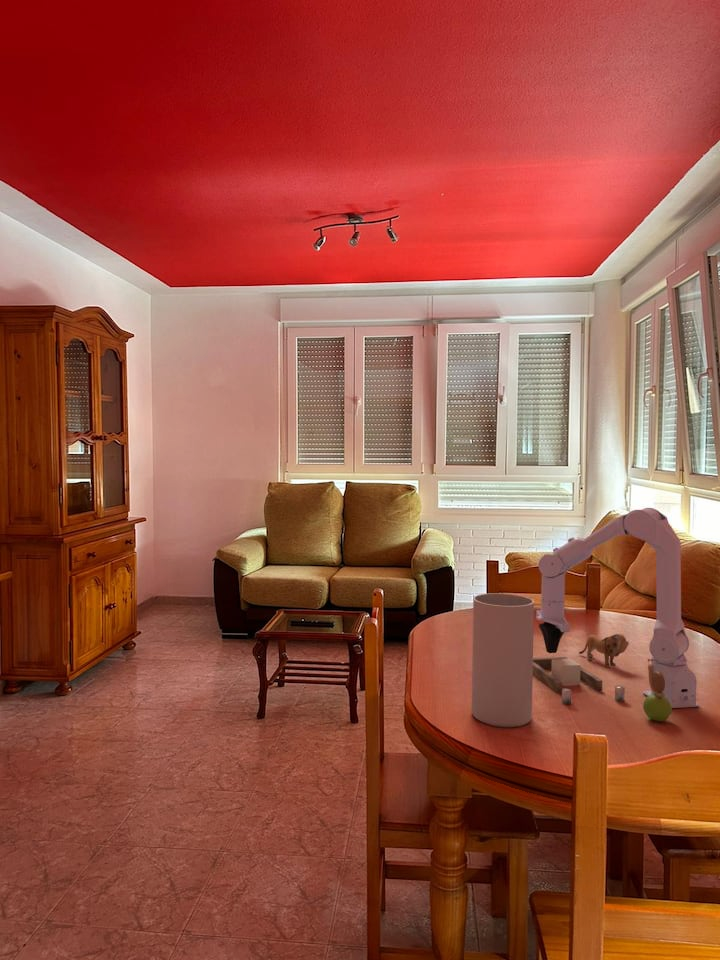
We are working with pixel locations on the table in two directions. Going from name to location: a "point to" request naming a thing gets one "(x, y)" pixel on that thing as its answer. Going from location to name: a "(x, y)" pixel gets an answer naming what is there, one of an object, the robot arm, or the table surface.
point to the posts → (567, 692)
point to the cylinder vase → (502, 659)
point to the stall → (556, 684)
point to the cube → (566, 671)
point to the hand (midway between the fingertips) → (551, 652)
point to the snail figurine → (656, 697)
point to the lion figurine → (606, 647)
